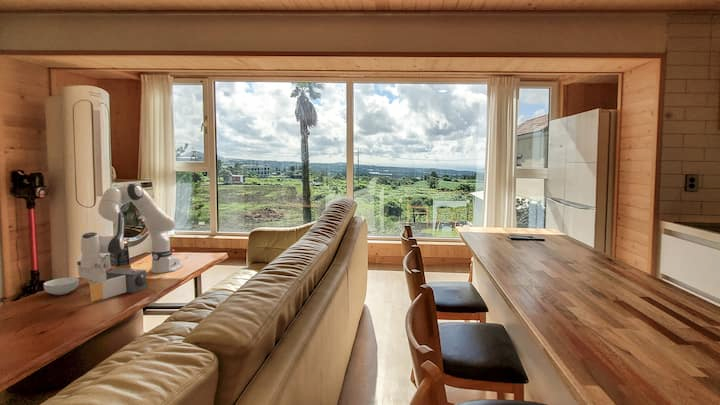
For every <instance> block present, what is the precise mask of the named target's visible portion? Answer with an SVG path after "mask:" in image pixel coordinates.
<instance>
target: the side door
mask: <svg viewBox="0 0 720 405" xmlns="http://www.w3.org/2000/svg"><path fill="white" fill-rule="evenodd" d="M125 293H128V292H127V290H126V275H123V276H120V277H116V278H112V279H109V280H106V281H103V282H97V283H94V284H89V294H90V295H89V296H90V302H94V301H97V300H100V299H101V300H105V299H108V298H113V297H115V296H119V295H122V294H125Z"/></svg>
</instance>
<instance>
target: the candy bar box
mask: <svg viewBox="0 0 720 405" xmlns="http://www.w3.org/2000/svg"><path fill="white" fill-rule="evenodd" d="M100 255H101V265H102V267H103V268H104V269H105V272H107V271H110V270H112V269H111V258H110V253H101V254H100ZM106 280H107V274H106Z"/></svg>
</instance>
